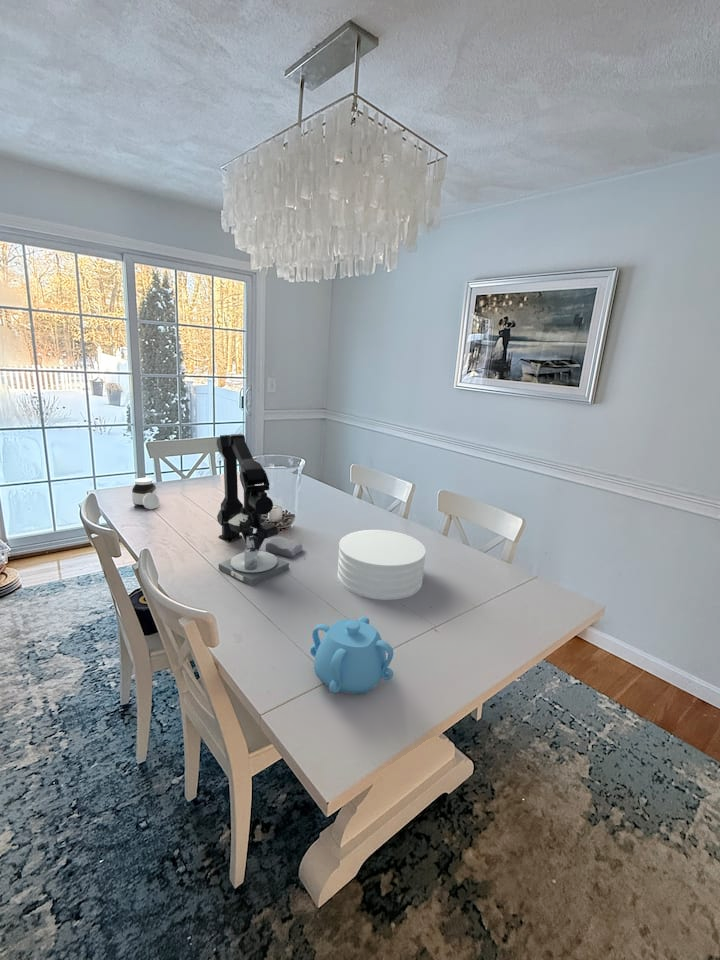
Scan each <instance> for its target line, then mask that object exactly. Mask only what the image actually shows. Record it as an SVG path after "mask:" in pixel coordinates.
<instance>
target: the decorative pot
mask: <svg viewBox="0 0 720 960" xmlns="http://www.w3.org/2000/svg"><path fill="white" fill-rule="evenodd" d="M319 631H323V632H325V634H324V636H323V638H322V639H321V638H320V635H319ZM312 640H313V645H312V646H311V647H310V648H309V649H310V650H309V651H310V655H311V656H312V657H314V660H313V661H314V662H313V670H314V673H315V675H316V676H317V678H318V679H319V680H320V682H322V683H323V684H324V685H326V686H328V689H329V691H330V692H331V693H334V694H336V693H338V692H341V693H344V694H345V693H346V694H349V695H350V694H351V695H362V694H363V695H364V694H367V693H369V692H371V691H372V689H374V688H375V687H376V686H377V685H378V683H379V682H380V681H381V679H382V680H384V681H390V680H391V679H393V676H394V670H392V669H391V668H390V664H391V662H392V660H393V658H394V649H393V647H392V646H391V644H389V643H388V642H386V641H384V640H382V637H381V635H380V633H379V630H377V628H376V627H374V625H373V626H372V625H371V624H370V619H369V618H368V617H366V616H360V617H359V618H358V620H357V619H351V618H342V619H339V620H336V621H335V622H334V623H333V624H332V625H331V626H330V625H328V624H326V623H319V624H317V625H316V626H315V627H314V628H313V630H312ZM386 653H387V654H386Z"/></svg>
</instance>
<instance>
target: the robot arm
mask: <svg viewBox="0 0 720 960" xmlns="http://www.w3.org/2000/svg"><path fill="white" fill-rule="evenodd" d="M216 447H217V449H218V452H219V454H220V456H221V457H222V458H223V477H224V479H223V481H224V482H223V483H224V498H223V500H222V501H221V503H220V509H219V511H218V513H217V515H216V518H217V523H218V524H219V525H220V527H221V534H220V535H218V538H220V539H222V540H224V541H226V542H228V543H229V542H233V541H235V540H238V539H242V538H243V540H244V543H245V544H246V536H247V535H248V534H251V533H253V534H251V535H252V536H253V537H254V538H255V548H256V549H257V551H258V550H260V549H261V547H262V545H263V543H264V541H265V539H269V538H271V537H272V538H273V537H275V536H276V535H279V527H278V526H277V525H274V524H272V523H270V522H269V523H266V524H262V523H265V519H264V518H263V516H264V515H267V514H269V513H270V512H271V511H272V510H273V506H274V503H273V500H272V499H271V498H270V497H269V496H268V493H267V492H266V491H270V481H269V477H268V475H267V472H266V470H265V469H264V468H263V466H262V464H261V463H260V462H258V461H256V460H255V459H254V457H253V455H252V453H251V451H250V449H249V447H248V445H247V442H246V437H245V435H244V434H242V433H236V434H234V433H232V434H221V435H220V436H219V437H218V438H217V439H216ZM238 465H239V466H240V470H239V482H240V483H241V486H242V489H243V503H242V502H241V501H240V499H239V494H238V492H239V491H238V490H239V488H238V487H239V485H238ZM254 530H255V532H254Z"/></svg>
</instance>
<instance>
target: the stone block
mask: <svg viewBox="0 0 720 960" xmlns="http://www.w3.org/2000/svg"><path fill="white" fill-rule="evenodd" d="M302 550H303V543H302V542H301V541H298V540H290V539H289V538H288V539H287V538H286V537H283V536H279V535H278V536H273V537H272V538H271V537H270V539H269V538H268V540H267V541H266V543H265V552H268V553H271V554H274V555H279V556H282V557H285V558H293V557H295V556H296V555H298V554H300V553H301V552H302Z"/></svg>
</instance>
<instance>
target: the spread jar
mask: <svg viewBox="0 0 720 960" xmlns="http://www.w3.org/2000/svg"><path fill="white" fill-rule="evenodd" d="M134 483H135V484H134V486H133V487H132V490H131V497H132V503H133V504H134V506H136V507H137V508H146V509H147V510H154V509H156V508H158V506H159V504H160V499H159V497H158V495H157V493H158V492H157V487H156V485H155V483H154V482H153V478H150V477H140V478H136V479H135V480H134Z"/></svg>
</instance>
